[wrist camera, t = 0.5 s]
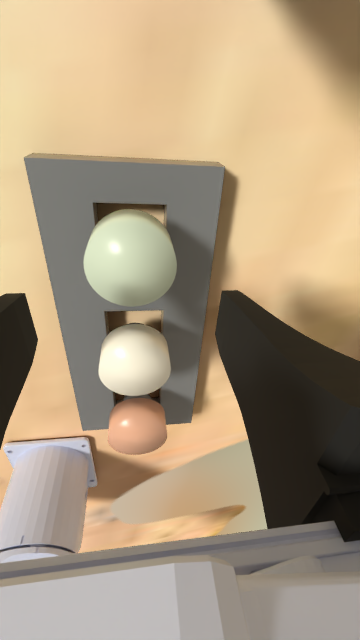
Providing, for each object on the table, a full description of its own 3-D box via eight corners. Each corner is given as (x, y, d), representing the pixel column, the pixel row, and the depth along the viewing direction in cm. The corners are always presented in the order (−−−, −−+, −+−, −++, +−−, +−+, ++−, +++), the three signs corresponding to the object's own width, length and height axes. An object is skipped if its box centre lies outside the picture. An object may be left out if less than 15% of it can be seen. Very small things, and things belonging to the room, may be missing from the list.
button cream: (165, 358, 23) (169, 393, 20) (105, 360, 22) (101, 397, 19) (167, 309, 20) (172, 343, 17) (100, 311, 20) (94, 345, 17)
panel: (188, 408, 30) (191, 422, 28) (85, 415, 28) (82, 430, 27) (218, 161, 17) (225, 166, 16) (32, 153, 16) (23, 157, 14)
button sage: (168, 275, 19) (174, 305, 16) (96, 275, 18) (89, 307, 15) (171, 202, 16) (179, 223, 13) (87, 199, 16) (77, 220, 13)
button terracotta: (162, 415, 27) (166, 452, 24) (112, 419, 26) (110, 456, 23) (164, 381, 24) (168, 418, 21) (108, 384, 24) (105, 422, 21)
